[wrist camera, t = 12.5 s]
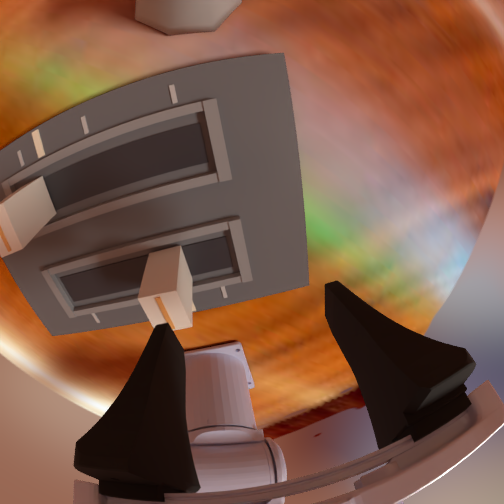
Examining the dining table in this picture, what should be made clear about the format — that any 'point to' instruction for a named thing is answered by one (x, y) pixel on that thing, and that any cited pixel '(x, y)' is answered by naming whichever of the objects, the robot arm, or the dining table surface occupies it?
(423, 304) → the dining table surface
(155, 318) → the fader
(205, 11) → the flask
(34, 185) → the fader
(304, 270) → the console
